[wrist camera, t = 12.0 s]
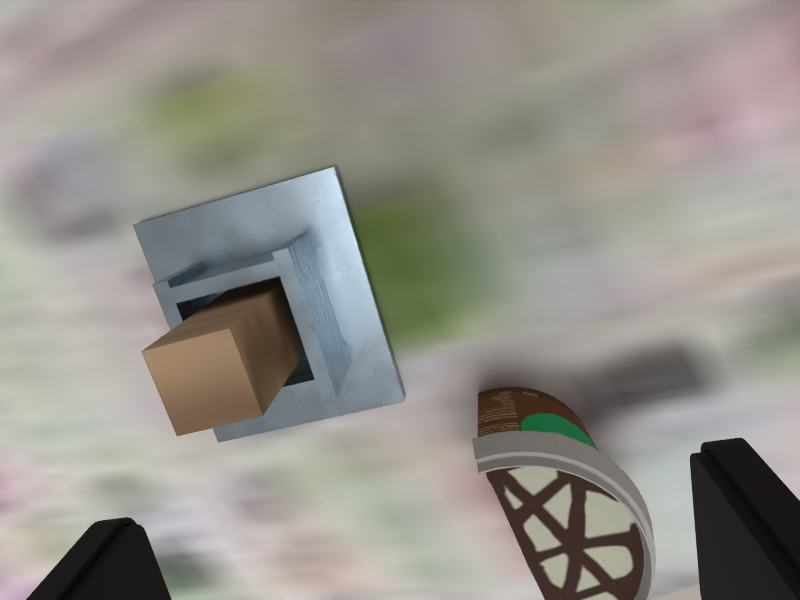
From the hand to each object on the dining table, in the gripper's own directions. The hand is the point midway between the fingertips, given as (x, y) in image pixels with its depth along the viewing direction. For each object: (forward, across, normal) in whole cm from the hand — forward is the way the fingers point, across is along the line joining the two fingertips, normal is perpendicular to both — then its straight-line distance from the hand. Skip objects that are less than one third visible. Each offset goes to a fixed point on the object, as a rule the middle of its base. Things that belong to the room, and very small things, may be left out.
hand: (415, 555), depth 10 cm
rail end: (+24, +10, +2) cm, 26 cm away
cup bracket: (+25, +10, +2) cm, 27 cm away
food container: (+25, -5, +13) cm, 28 cm away
